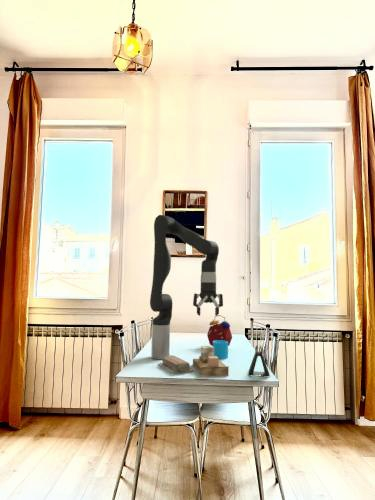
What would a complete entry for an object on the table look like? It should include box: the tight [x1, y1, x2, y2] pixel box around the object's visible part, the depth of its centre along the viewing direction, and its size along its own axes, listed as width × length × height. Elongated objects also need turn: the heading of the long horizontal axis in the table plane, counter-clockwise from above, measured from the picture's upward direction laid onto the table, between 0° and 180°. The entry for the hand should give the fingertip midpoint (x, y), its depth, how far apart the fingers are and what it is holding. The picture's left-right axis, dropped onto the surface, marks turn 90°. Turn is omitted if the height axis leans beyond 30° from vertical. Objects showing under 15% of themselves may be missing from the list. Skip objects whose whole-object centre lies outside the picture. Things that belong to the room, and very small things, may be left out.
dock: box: [192, 358, 229, 377], centre depth 154 cm, size 12×19×4 cm, turn 10°
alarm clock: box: [206, 314, 233, 347], centre depth 203 cm, size 15×9×20 cm, turn 46°
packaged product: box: [157, 354, 194, 375], centre depth 156 cm, size 18×5×10 cm
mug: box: [212, 340, 229, 360], centre depth 183 cm, size 12×8×8 cm
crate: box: [208, 356, 220, 367], centre depth 149 cm, size 4×4×4 cm
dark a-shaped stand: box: [248, 345, 271, 378], centre depth 149 cm, size 9×6×12 cm, turn 80°
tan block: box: [198, 345, 214, 363], centre depth 159 cm, size 6×8×6 cm
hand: (207, 315), depth 161 cm, fingers open, 8 cm apart
